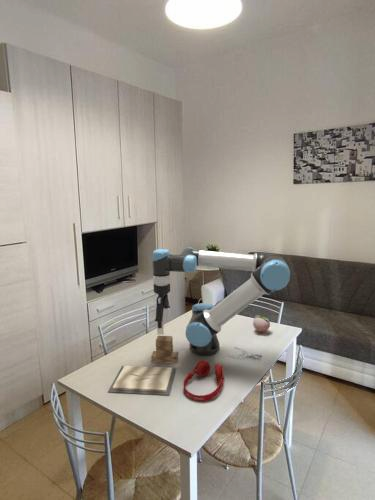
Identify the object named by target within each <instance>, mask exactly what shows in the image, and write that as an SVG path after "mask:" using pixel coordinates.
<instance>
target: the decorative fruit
mask: <svg viewBox="0 0 375 500" xmlns="http://www.w3.org/2000/svg"><path fill="white" fill-rule="evenodd" d="M253 317H254V319H253V322H252V325H253V328H254V329H255V330H256V331H258V332H260V333H264V332H266V331H268V330H269V328H270V326H271V321H270V320H269V318H267V317H265V316H263V315H255V316H253Z"/></svg>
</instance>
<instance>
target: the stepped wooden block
mask: <svg viewBox="0 0 375 500" xmlns="http://www.w3.org/2000/svg"><path fill="white" fill-rule="evenodd" d="M173 340H174V339H173V335H157V336H156V339H155V350H153V351H152V353H151V357H150V360H151V362H152V363H166V364H167V363H169V364H178V360H179V351H174V348H173V347H174V345H173V344H174V343H173Z"/></svg>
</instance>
